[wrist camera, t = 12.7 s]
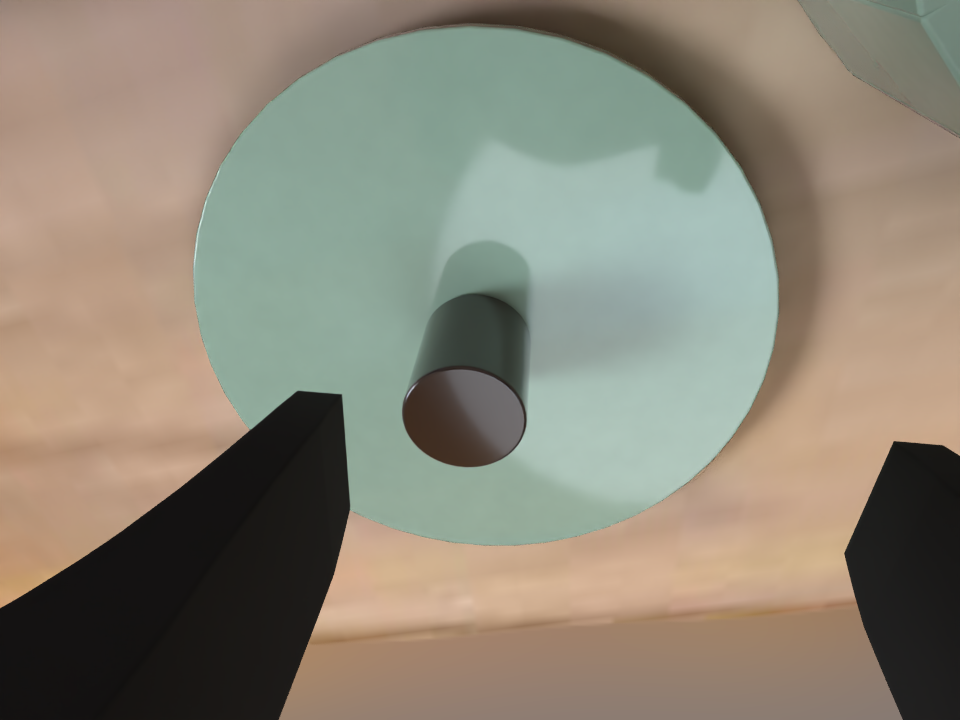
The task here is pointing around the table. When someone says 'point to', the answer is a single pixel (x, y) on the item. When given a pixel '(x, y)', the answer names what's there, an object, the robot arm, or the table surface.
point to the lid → (491, 280)
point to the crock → (899, 50)
